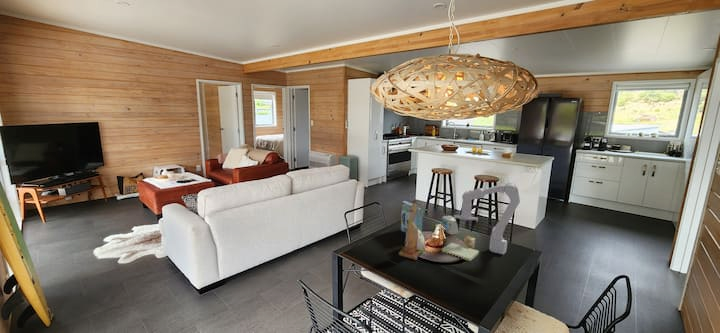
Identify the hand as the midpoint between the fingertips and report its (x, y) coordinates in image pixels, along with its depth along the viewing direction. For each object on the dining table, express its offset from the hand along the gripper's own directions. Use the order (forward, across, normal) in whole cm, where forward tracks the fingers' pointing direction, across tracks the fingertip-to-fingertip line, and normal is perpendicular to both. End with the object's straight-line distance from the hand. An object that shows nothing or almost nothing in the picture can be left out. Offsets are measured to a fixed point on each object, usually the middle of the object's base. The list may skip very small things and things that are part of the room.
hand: (464, 230), depth 193 cm
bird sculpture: (+9, +30, +29) cm, 43 cm away
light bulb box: (+9, +9, -18) cm, 22 cm away
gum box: (+9, +35, +1) cm, 36 cm away
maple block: (+9, -3, +4) cm, 11 cm away
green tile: (+9, +3, +14) cm, 17 cm away
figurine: (+9, +29, +22) cm, 38 cm away
